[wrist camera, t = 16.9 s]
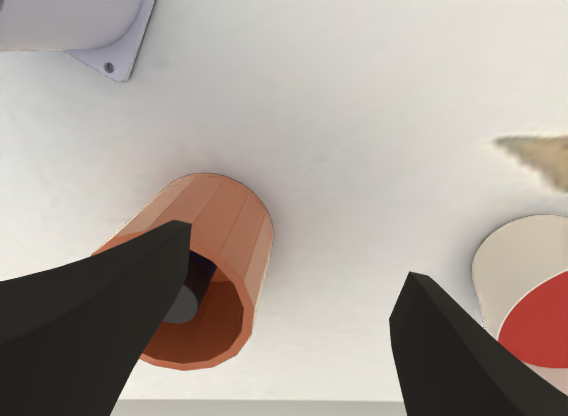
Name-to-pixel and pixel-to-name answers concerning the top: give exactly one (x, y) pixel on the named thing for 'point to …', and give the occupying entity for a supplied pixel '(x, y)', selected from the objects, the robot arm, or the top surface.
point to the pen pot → (223, 252)
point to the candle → (527, 292)
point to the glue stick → (192, 289)
